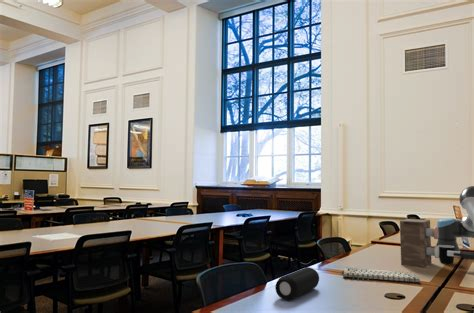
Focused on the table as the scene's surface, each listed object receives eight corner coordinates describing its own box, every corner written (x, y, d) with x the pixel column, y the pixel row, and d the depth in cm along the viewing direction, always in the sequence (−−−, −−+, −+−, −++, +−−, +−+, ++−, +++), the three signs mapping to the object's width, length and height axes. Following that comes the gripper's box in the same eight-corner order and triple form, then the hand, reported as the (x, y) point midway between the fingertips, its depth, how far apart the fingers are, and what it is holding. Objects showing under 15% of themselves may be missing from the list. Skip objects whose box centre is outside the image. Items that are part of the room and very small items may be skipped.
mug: (452, 265, 228) (451, 248, 229) (436, 263, 235) (435, 246, 235) (458, 262, 237) (458, 245, 237) (443, 260, 243) (442, 243, 244)
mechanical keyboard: (416, 276, 205) (415, 270, 205) (422, 286, 187) (422, 279, 187) (342, 272, 216) (342, 266, 216) (341, 281, 197) (341, 274, 198)
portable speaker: (302, 286, 186) (301, 265, 186) (321, 289, 180) (320, 267, 180) (273, 299, 165) (273, 275, 166) (294, 303, 159) (293, 279, 160)
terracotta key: (417, 236, 236) (416, 224, 236) (438, 238, 228) (438, 226, 229) (413, 238, 230) (413, 225, 231) (436, 239, 223) (435, 227, 223)
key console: (408, 260, 242) (407, 218, 244) (431, 263, 234) (430, 220, 236) (401, 265, 230) (399, 220, 231) (424, 268, 222) (423, 222, 223)
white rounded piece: (417, 255, 235) (417, 243, 236) (439, 257, 228) (439, 244, 228) (414, 256, 230) (414, 244, 230) (436, 259, 222) (436, 246, 222)
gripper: (495, 267, 202) (445, 261, 217) (498, 263, 212) (449, 257, 227) (495, 252, 202) (444, 248, 217) (497, 249, 212) (449, 245, 227)
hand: (447, 253), depth 222 cm, fingers closed
